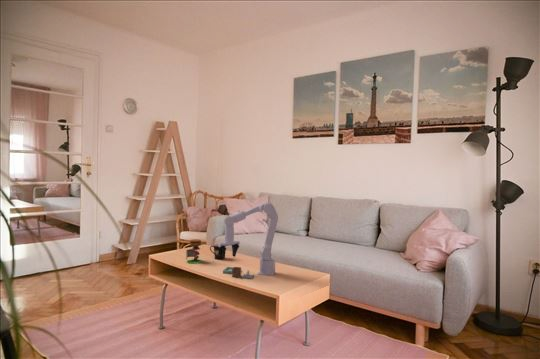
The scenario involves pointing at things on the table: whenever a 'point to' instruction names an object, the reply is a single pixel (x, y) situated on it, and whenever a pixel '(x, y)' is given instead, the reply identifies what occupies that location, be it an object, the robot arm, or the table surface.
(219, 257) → the coffee mug
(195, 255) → the toy tree house
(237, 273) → the walnut ring block
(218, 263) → the table surface
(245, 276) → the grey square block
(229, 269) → the tray
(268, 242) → the robot arm
